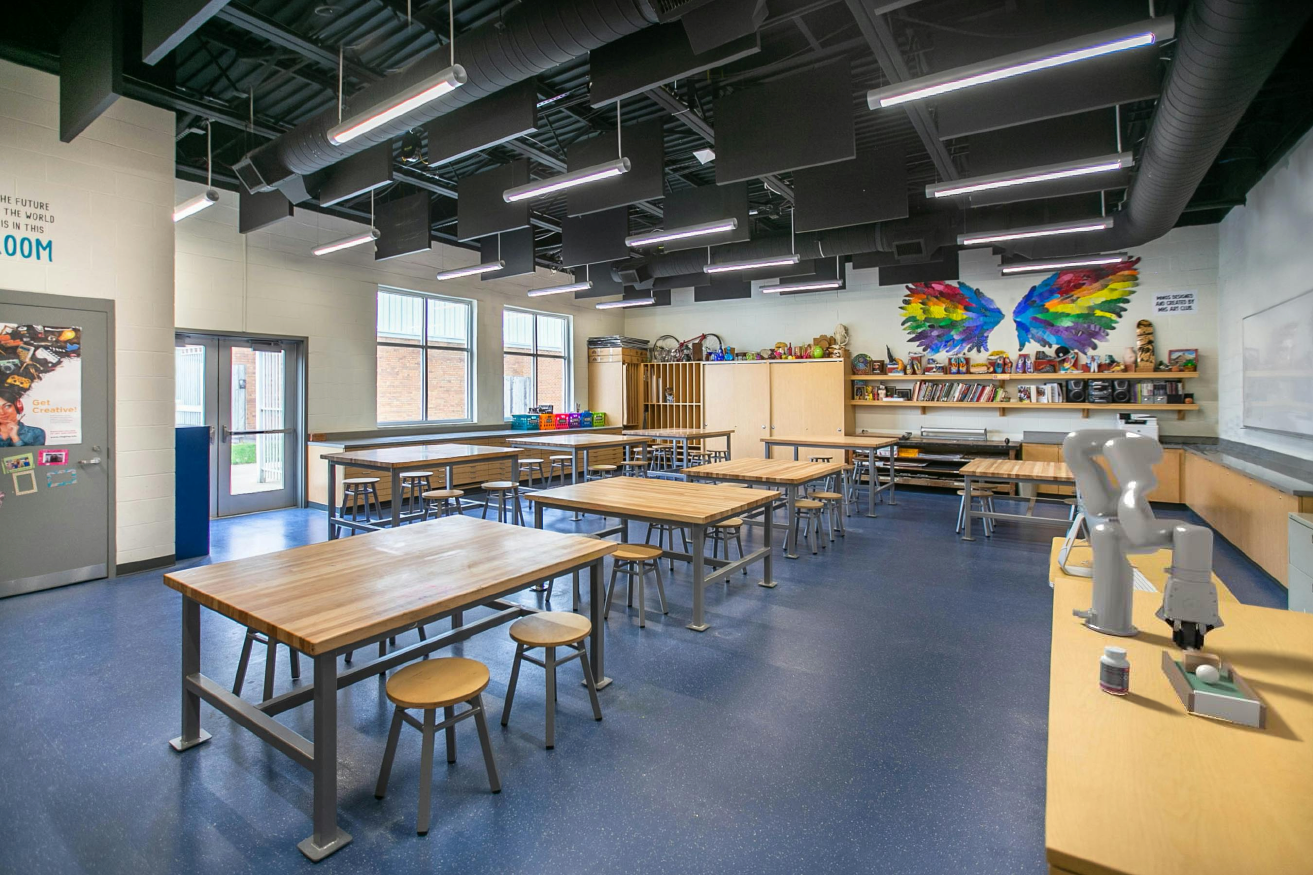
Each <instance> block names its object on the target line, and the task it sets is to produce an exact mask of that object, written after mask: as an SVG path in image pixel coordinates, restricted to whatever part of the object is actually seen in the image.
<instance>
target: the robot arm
mask: <svg viewBox="0 0 1313 875" xmlns="http://www.w3.org/2000/svg"><path fill="white" fill-rule="evenodd" d="M1064 437H1065V438H1064V440H1063V443H1062V449H1061V451H1062V452H1061V453H1062V457H1063V460H1064V463H1065V464H1066V466H1067V468H1068V469H1069V472H1070V473H1071V475H1072V477H1073V479H1074V480H1075V483H1076V486H1077V489H1078V491H1079V495H1080V498H1081V500H1082V503H1083V505H1084V506H1083V507H1084V508H1085V510H1086V512H1087V513H1088V515H1089V516H1090V517H1092V518H1095V519H1097V520H1098V519H1100V520H1101V519H1102V520H1108V521H1104V522H1103V521H1102V522H1100V523H1097V524H1095V525H1094V526H1092V528H1091V530H1090V533H1089V540H1090V546H1091V550H1092V590H1091V592H1092V594H1091V595H1092V596H1091V607H1089V609H1085V610H1080V609H1074V608H1072V616H1073V617H1077V618H1078V619H1084V625H1085V626H1086V627H1087V628H1089V629H1091V630H1093V631H1096V632H1099V633H1101V634H1102V633H1103V634H1107V635H1113V636H1121V637H1134V636H1137V635H1139V629H1138V627H1137V626H1135V625H1133V607H1134V606H1133V603H1134V580H1135V579H1134V577H1135V573H1134V569H1133V568H1134V567H1133V566H1132V563H1131V562H1130V560H1129V559H1128V557H1127V556H1130V555H1131V556H1132V555H1133V556H1134V555H1135V556H1136V555H1153V554H1155V553H1158V552H1159V551H1160V549H1171V551H1172V552H1171V565H1170V566H1169V567H1164V568H1163V573H1164V574H1168V575H1170V576H1167V579H1166V582H1165V586H1164V590H1163V598H1162V604H1161V606H1160V607H1159V608H1158V610H1156V612H1155V614H1154V615H1155V617H1156V618H1158V619H1159V620H1161V621H1163V622H1165V623H1166V624H1167V625H1168V626H1169V627H1170V628H1172V639H1171V640H1172V642H1173V643H1174V644H1175V645H1176V647H1177V648H1180V647H1181V646H1182V632H1181V631H1180V630H1181V621H1188V622H1195V623H1197V628H1196V649H1195V650H1197V651H1202V649H1201V648H1202V647H1204V646H1205V644H1204V643H1205V636H1206V635H1207V633H1210V632H1211V631H1213V630H1214V629H1218V628H1219V629H1220V628H1222V627H1225V623H1224V621H1223V620H1222V618H1221V616H1220V614H1219V598H1218V591H1217V586H1216V585H1217V584H1216V583H1215V582H1212V573H1213V572H1212V571H1213V568H1212V567H1213V549H1214V544H1213V543H1214V533H1213V530H1212V529H1210V528H1208V527H1205V526H1201V525H1197V524H1196V525H1195V524H1191V523H1189V522H1186V521H1184V520H1181V519H1169V518H1168V519H1163V518H1161V519H1160V518H1157V519H1156V517H1155V515H1154V512H1153V510H1152V507H1151V505H1150V503H1149V501H1148V499H1147V497H1146V496H1145V495H1147V494H1149V493H1152V492H1153V491H1155V490H1156V489H1157V488H1158V487H1159V484H1160V483H1159V482H1160V481H1159V479H1158V477H1157V475H1156V473H1155V472H1154V471H1153V468H1152V466H1156V465H1159V463H1161V462H1162V461H1163V459H1164V455H1165V452H1164V448H1163V446H1162V444H1161V443H1160V442H1159V441H1158V440H1157V439H1156V438H1153V437H1152V436H1149V435H1144V434H1141V433H1138V432H1134V431H1131V430H1126V429H1122V428H1082V429H1076V430H1074V431H1071V432H1070V433H1069V432H1068V434H1067V435H1066V436H1064ZM1094 457H1097V458H1098V457H1099V458H1100V457H1102V458H1103V457H1104V459H1105V461H1106V463H1107V465H1108V466H1109V468H1110V471H1111V472H1112V473H1113V476H1114V478H1115V480H1116V482H1117V483H1118V485H1119V486H1115V485H1114V484H1113V483H1112V481H1111V477H1110V475H1109V473H1108V471H1107V470H1106V469H1105V467H1104V466H1103V465H1102V464H1100V463H1099V462H1098V461H1097V460H1095V459H1094ZM1109 520H1110V521H1109ZM1112 520H1113V521H1112ZM1114 520H1115V521H1114ZM1116 520H1117V521H1116Z"/></svg>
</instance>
